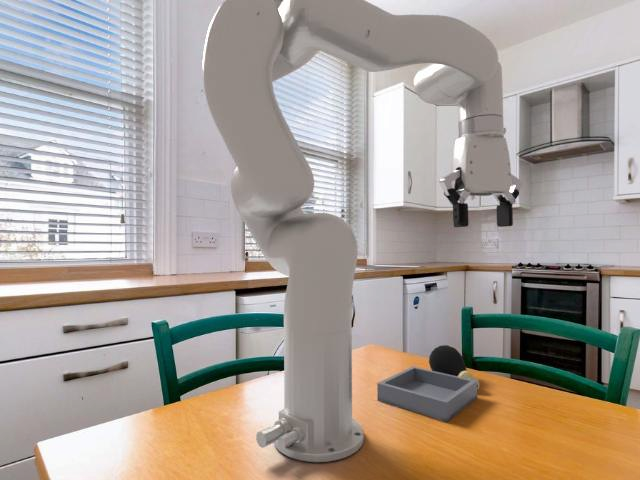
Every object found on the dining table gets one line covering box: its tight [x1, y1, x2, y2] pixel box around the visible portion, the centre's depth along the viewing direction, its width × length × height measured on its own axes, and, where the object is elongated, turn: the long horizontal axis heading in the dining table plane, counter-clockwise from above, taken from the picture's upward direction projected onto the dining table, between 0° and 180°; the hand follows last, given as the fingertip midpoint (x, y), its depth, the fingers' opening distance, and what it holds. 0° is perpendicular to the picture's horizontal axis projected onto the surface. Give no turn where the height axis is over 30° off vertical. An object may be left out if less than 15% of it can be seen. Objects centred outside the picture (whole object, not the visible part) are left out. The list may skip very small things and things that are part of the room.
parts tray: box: [376, 365, 478, 423], centre depth 67 cm, size 13×13×3 cm
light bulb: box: [428, 344, 480, 391], centre depth 76 cm, size 7×7×12 cm
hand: (483, 226), depth 69 cm, fingers open, 9 cm apart
